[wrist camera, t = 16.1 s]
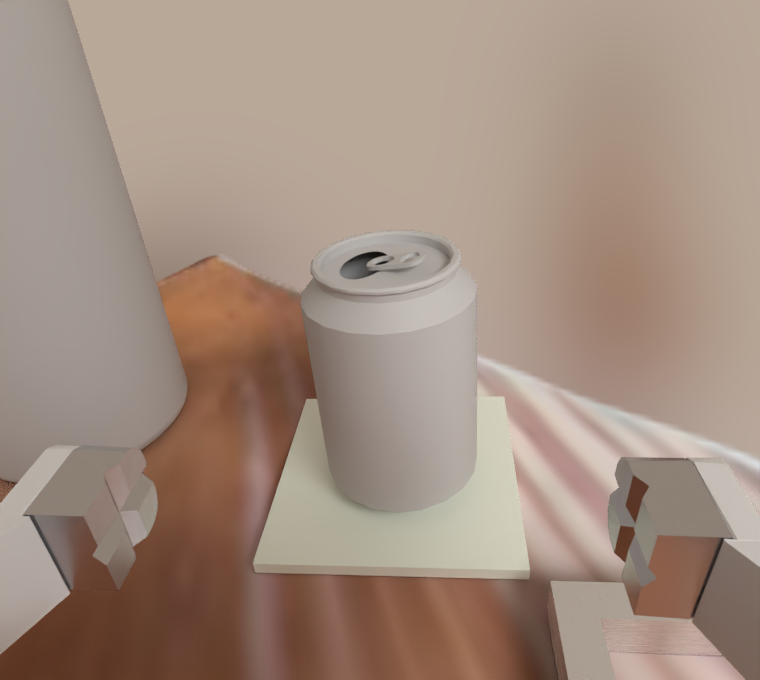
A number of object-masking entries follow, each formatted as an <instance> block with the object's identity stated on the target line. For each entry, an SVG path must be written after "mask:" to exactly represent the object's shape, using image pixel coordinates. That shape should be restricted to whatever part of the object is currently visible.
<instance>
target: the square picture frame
mask: <svg viewBox="0 0 760 680" xmlns="http://www.w3.org/2000/svg"><path fill="white" fill-rule="evenodd" d="M547 616H548V622H549V628H550V634H551V640H552V646H553V652H554V658H555V664H556V670H557V676H558V680H615V676H614V672H613V668H612V664H611V660H610V656H609V652H634V653H659V654H684V655H709V656H723V655H722V654H721V653H720V652H719V651H718V649H717V648H716V647H715V646H714V645H713V644H712V643H711V642H710V641H709V640H708V639H707V638H706V637H705V636H704V635H703V634H702V632H701V631H700V630H699V629H698V628H697V627H696V626H695V625H694V624H693V623H692V620H693V619H680V618H666V617H653V616H639V615H634V614H633V611H632V608H631V604H630V601H629V598H628V595H627V592H626V589H625V586H624V583H619V582H580V581H550V589H549V599H548V608H547Z"/></svg>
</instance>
